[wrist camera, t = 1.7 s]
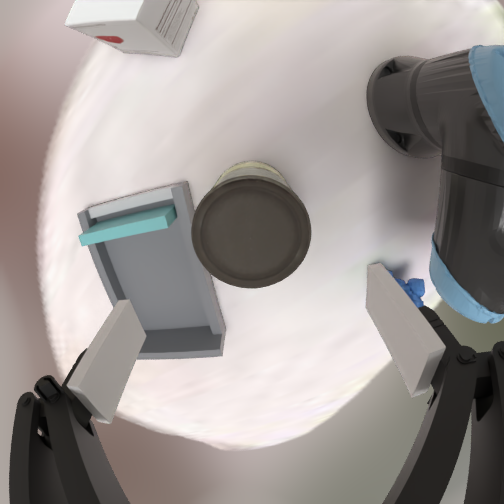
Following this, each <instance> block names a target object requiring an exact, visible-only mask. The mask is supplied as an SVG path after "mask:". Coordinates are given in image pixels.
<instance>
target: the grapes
mask: <svg viewBox="0 0 504 504" xmlns="http://www.w3.org/2000/svg"><path fill="white" fill-rule="evenodd" d="M387 271H388V270H387ZM388 272H389V273H390V274H391V276H392V277H393V273H392V271H388ZM394 279H395V280H396V282H397V283H398V284H399V285H400V286H401V288H402V289H403V290H404V291H405V293H406V294H407V295H408V296H409V298H410V299H411V300H412V302H413V303H414V304H415V305H416V307H417V308H419V307H422V306H424V305H423V301H422V300H421V298H420V297H422V296H423V295H424V293H425V286H424V280H423V279H418V278H412V279H409V281H408V283H407V284H405V282H404V280H401V279H397V278H394Z"/></svg>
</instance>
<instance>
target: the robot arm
mask: <svg viewBox="0 0 504 504" xmlns="http://www.w3.org/2000/svg"><path fill="white" fill-rule="evenodd" d="M367 104H368V109H369V113H370V116H371V119H372V122H373V124H374V126H375V128H376V129H377V131H378V133H379V134H380V136H381V137H382V138H383V139H384V140H385V142H386V143H387V144H389V145H390V146H391V147H392V148H393V149H395V150H396V151H398V152H400V153H402V154H405V155H408V156H412V157H417V158H431V157H435V156H438V155H440V154H442V164H441V179H440V192H439V201H438V210H437V218H436V225H435V231H434V233H433V234H432V240H431V243H432V251H431V258H430V265H429V272H430V277H431V280H432V282H433V284H434V286H435V287H436V290H437V292H438V294H439V295H440V296H441V297H442V299H443V300H444V301H445V302H446V303H447V304H448V305H449V306H451V307H452V308H453V309H454V310H456V311H457V312H459V313H460V314H461V315H463V316H465V317H467V318H469V319H471V320H473V321H476V322H480V323H487V322H488V321H489V322H490V323H496V322H498V321H500V320H501V319H502V318H503V317H504V45H493V46H482V45H479V46H478V45H477V46H474V47H472V48H470V49H466V50H462V51H458V52H454V53H450V54H447V55H443V56H440V57H436V58H433V59H430V60H428V59H423V58H418V57H413V56H399V57H395V58H392V59H390V60H387V61H385V62H383V63H382V64H380V65H379V66H378V67H377V68H376V69H375V71H374V72H373V74H372V75H371V78H370V80H369V83H368V89H367ZM366 309H367V311H368V313H369V315H370V316H371V318H372V320H373V322H374V324H375V326H376V327H377V329H378V331H379V333H380V335H381V337H382V339H383V341H384V342H385V344H386V346H387V348H388V350H389V352H390V354H391V356H392V358H393V360H394V362H395V364H396V366H397V368H398V370H399V372H400V374H401V376H402V378H403V380H404V383H405V384H406V387H407V389H408V391H409V393H410V395H411V397H415V396H418V395H420V394H423V393H426V392H427V390H428V388H429V386H430V384H431V385H432V387H433V389H434V392H433V394H432V396H431V398H430V400H429V401H428V403H427V404H429V406H428V409H427V411H426V415H425V417H424V420H423V422H422V425H421V428H420V430H419V433H418V435H417V437H416V440H415V442H414V444H413V447H412V449H411V451H410V453H409V456H408V458H407V460H406V462H405V464H404V466H403V468H402V470H401V472H400V474H399V476H398V477H397V479H396V481H395V483H394V485H393V487H392V488H391V490H390V492H389V493H388V495H387V497H386V498H385V500H384V502H383V503H382V504H439V503H440V501H441V499H442V497H443V495H444V492H445V490H446V488H447V485H448V483H449V480H450V478H451V476H452V473H453V470H454V467H455V465H456V462H457V459H458V456H459V453H460V450H461V447H462V443H463V440H464V436H465V433H466V429H467V425H468V421H469V416H470V412H471V413H472V414H471V415H472V431H471V434H472V435H471V454H470V466H469V475H468V483H467V489H466V495H465V500H464V504H504V341H500V342H497V343H496V344H495V345H494V347H493V349H492V351H490V352H482V353H476V351H475V350H473V349H472V348H470V347H468V346H461V345H460V344H459V343H458V341H457V340H456V339H455V337H454V336H453V335H452V333H451V332H450V331H449V329H448V328H447V327H446V325H444V323H443V322H442V320H440V318H439V317H438V315H437V314H436V313H435V311H433V310H432V309H430V308H429V307H427V306H422V307H419V308H417V307H416V305H415V304H414V303H413V302H412V300H411V299H410V298H409V296H408V295H407V294H406V293H405V291H404V290H403V289H402V288H401V286H400V285H399V284H398V283H397V282H396V280H395V279H394V278H393V277H392V276H391V274H390V273H389V272H388V271H387V270H386V268H385V267H384V266H383V265H382V264H381V263H377V264H372V265H368V274H367V294H366ZM145 338H146V334H145V332H144V330H143V328H142V326H141V323H140V321H139V319H138V317H137V315H136V313H135V311H134V308H133V306H132V304H131V302H130V299H128V300H119V301H118V302H117V304H116V305H115V307H114V308H113V310H112V311H111V313H110V314H109V316H108V317H107V319H106V320H105V322H104V324H103V325H102V327H101V328H100V330H99V331H98V333H97V334H96V336H95V338H94V339H93V341H92V342H91V344H90V346H89V347H88V349H87V348H86V349H85V350H84V351H83V352H82V353H81V354H80V355H79V357H78V359H77V360H76V363H75V364H74V365H73V367H72V369H71V370H70V372H69V374H68V376H67V377H66V379H65V381H64V383H63V384H62V386H60V385H59V384H58V383H57V381H56V380H55V379H54V377H52V376H51V375H47V376H44V377H42V378H40V379H39V380H38V381H37V383H36V384H35V387H34V391H35V392H36V393H37V394H38V395H39V397H40V398H39V399H38V398H37V397H36V396H35V395H34V394H33V393H32V392H27V393H24V394H23V395H22V396H21V397H20V399H19V400H18V403H17V409H16V414H15V420H14V427H13V434H12V443H11V453H10V472H9V494H10V504H130V502H129V501H128V499H127V497H126V496H125V494H124V492H123V490H122V488H121V486H120V485H119V482H118V480H117V478H116V476H115V474H114V472H113V470H112V468H111V466H110V464H109V461H108V459H107V457H106V455H105V453H104V450H103V447H102V445H101V442H100V440H99V437H98V435H97V432H96V430H95V427H94V424H93V423H92V421H91V420H90V419H91V416H92V415H93V416H94V417H95V418H96V419H97V421H98V422H102V423H108V424H111V422H112V419H113V417H114V414H115V411H116V409H117V406H118V403H119V401H120V398H121V396H122V393H123V391H124V388H125V386H126V383H127V381H128V378H129V376H130V373H131V371H132V369H133V366H134V364H135V361H136V359H137V357H138V354H139V352H140V350H141V347H142V345H143V343H144V341H145ZM38 429H39V430H40V431H41V432H42V435H41V436H40V435H39V434H38Z"/></svg>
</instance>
